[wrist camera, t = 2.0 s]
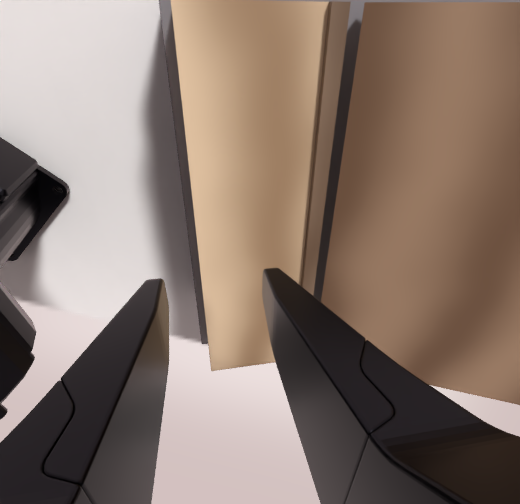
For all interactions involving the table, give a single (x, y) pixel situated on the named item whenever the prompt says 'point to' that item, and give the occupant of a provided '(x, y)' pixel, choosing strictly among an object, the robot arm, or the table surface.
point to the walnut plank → (434, 194)
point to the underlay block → (337, 147)
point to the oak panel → (256, 151)
